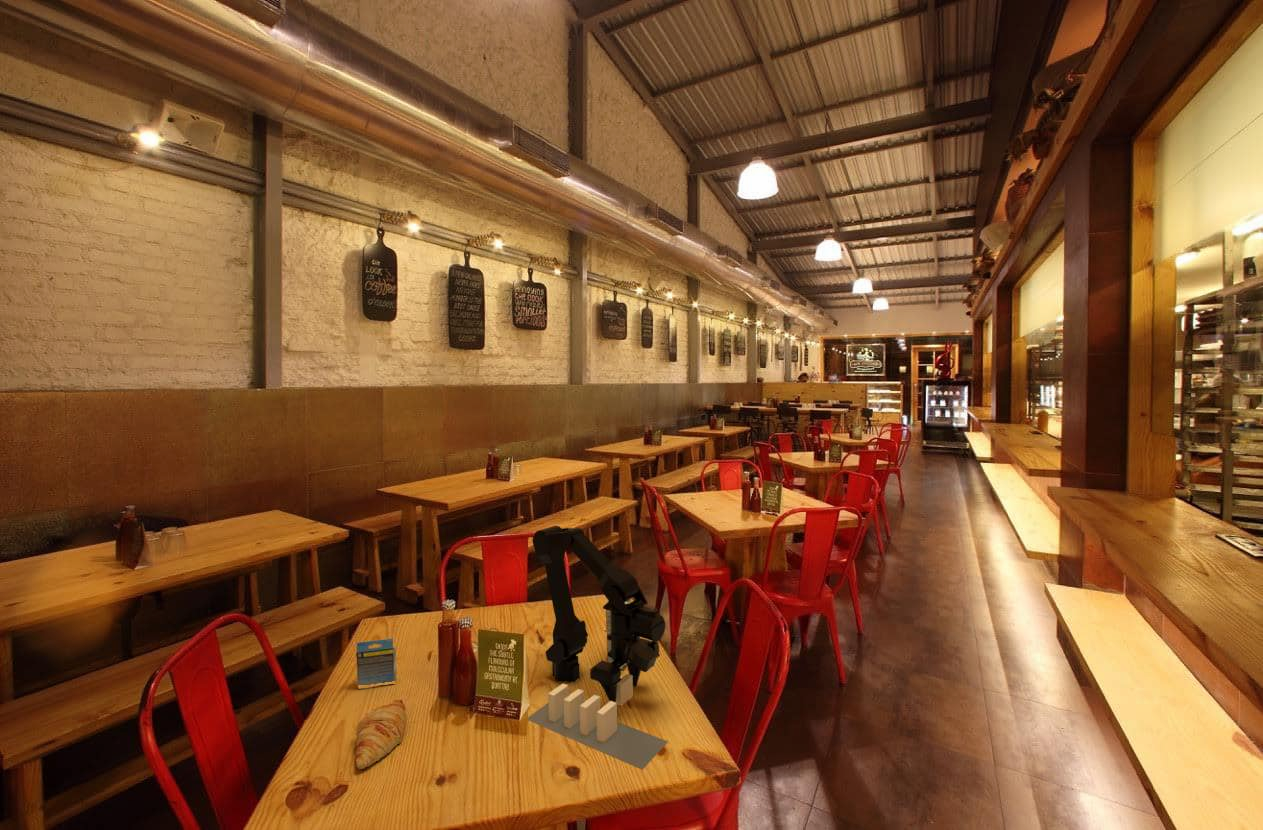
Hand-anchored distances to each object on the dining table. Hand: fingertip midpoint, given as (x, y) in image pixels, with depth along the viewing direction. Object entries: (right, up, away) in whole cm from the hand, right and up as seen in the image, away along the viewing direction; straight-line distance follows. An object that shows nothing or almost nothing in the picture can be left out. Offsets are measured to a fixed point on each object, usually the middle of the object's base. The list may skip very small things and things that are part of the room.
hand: (624, 694), depth 129 cm
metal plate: (-6, -3, -11) cm, 13 cm away
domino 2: (-11, -2, -8) cm, 14 cm away
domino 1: (-15, -2, -6) cm, 16 cm away
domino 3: (-7, -2, -11) cm, 13 cm away
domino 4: (-3, -2, -13) cm, 14 cm away
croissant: (-52, -4, -12) cm, 54 cm away
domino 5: (0, -2, 0) cm, 2 cm away
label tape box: (-63, -3, +11) cm, 64 cm away
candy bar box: (-1, -2, +21) cm, 22 cm away
